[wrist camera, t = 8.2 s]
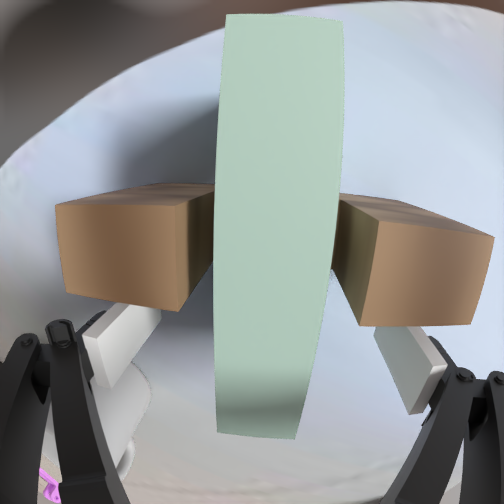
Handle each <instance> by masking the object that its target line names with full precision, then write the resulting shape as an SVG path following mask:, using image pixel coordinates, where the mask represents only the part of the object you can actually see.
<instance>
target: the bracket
mask: <svg viewBox="0 0 504 504" xmlns="http://www.w3.org/2000/svg"><path fill="white" fill-rule="evenodd" d="M39 475H40V476H41V477H42V478H44V479H45V480H46V481H47V482H48V485H47V486H46V488H45V489H44V491H43V494H44V496H45V497H46V498H47V499H49V500H52V501H53V502H55V503H60V502H61V500H60V496H59V491H58V484H59V483H58V482H56V481H55V480H54V479H53V478H52V477H51V476H49V475H48V474H47V473H46V472H45V471H44V470H43V469H41V468H40V469H39ZM49 493H50V494H49ZM48 494H49V495H48ZM55 498H56V499H55Z"/></svg>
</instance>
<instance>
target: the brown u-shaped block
mask: <svg viewBox="0 0 504 504" xmlns="http://www.w3.org/2000/svg"><path fill="white" fill-rule="evenodd" d="M214 201H215V184H191V183H156V184H150V185H144V186H139V187H133V188H128V189H123V190H118V191H113V192H108V193H103V194H99V195H94V196H90V197H85V198H81V199H77V200H72V201H68V202H64V203H60V204H56V205H55V212H56V225H57V235H58V244H59V252H60V259H61V266H62V272H63V278H64V283H65V289H66V292H67V293H72V294H76V295H81V296H86V297H91V298H96V299H102V300H107V301H113V302H118V303H124V304H130V305H136V306H142V307H149V308H155V309H162V310H169V311H176V312H179V310H180V309H181V307H182V306H183V304H184V303H185V301H186V300H187V298H188V297H189V296H190V294H191V293H192V291H193V290H194V288H195V287H196V285H197V284H198V282H199V281H200V279H201V278H202V276H203V275H204V274H205V272H206V271H207V269H208V268H209V266H210V265H211V263H212V262H213V249H214ZM494 238H495V237H493V236H491V235H489V234H486V233H484V232H482V231H479V230H477V229H474V228H472V227H470V226H467V225H465V224H462V223H460V222H457V221H455V220H452V219H449V218H447V217H444V216H441V215H439V214H436V213H433V212H430V211H428V210H425V209H422V208H419V207H416V206H413V205H410V204H407V203H404V202H401V201H398V200H392V199H384V198H377V197H369V196H361V195H353V194H344V193H339V202H338V212H337V222H336V230H335V239H334V247H333V254H332V262H331V269H333V271H334V273H335V275H336V277H337V279H338V281H339V283H340V285H341V287H342V290H343V292H344V294H345V296H346V298H347V300H348V302H349V305H350V307H351V309H352V311H353V313H354V316H355V318H356V320H357V322H358V325H359V326H377V327H409V326H448V325H468V324H471V322H472V319H473V316H474V313H475V310H476V307H477V304H478V301H479V298H480V295H481V291H482V288H483V285H484V281H485V277H486V274H487V270H488V266H489V262H490V257H491V253H492V248H493V243H494Z"/></svg>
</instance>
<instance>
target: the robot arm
mask: <svg viewBox="0 0 504 504" xmlns="http://www.w3.org/2000/svg"><path fill="white" fill-rule="evenodd" d="M161 319H162V315H161V309H155V308H149V307H142V306H136V305H130V304H124V303H118V302H117V303H115V304H114V305H113V306H112V307H111V308H110V309H109V310H108V311H102V312H100V313H98V314H96V315H95V316H93V317H92V318H91V319H90V321H88V322H87V323H86V325H84V326H82V327H81V328H80V329H79V330H78V331H77V332H76V333H75V332H74V328H73V324H72V322H71V321H69V320H65V319H59V320H55V321H53V322H51V323H49V324H48V325H47V326H46V328H45V331H46V334H47V337H48V340H49V343H50V344H40V342H39V339H38V337H37V335H35V334H31V333H29V334H24V335H21V336H20V337H18V338H17V339H16V340H15V342H14V344H13V346H12V347H11V349H10V351H9V353H8V355H7V357H6V359H5V361H4V363H3V365H2V363H1V362H0V504H37V493H38V479H39V469H40V460H41V453H42V446H43V440H44V434H45V428H46V423H47V418H48V413H49V408H50V404H51V405H52V417H53V426H54V434H55V441H56V448H57V454H58V460H59V465H60V470H61V475H62V483H59V484H58V491H59V496H60V500H61V503H62V504H130V502H129V499H128V497H127V495H126V493H125V490H124V488H123V485H122V483H121V481H120V478H119V475H118V473H117V470H116V468H115V465H114V462H113V459H112V456H111V454H110V451H109V448H108V445H107V441H106V438H105V435H104V432H103V428H102V425H101V421H100V418H99V414H98V410H97V406H96V402H95V398H94V394H93V389H92V385H91V383H90V380H91V379H92V377H93V376H94V377H95V380H96V382H97V385H99V386H102V387H105V388H108V389H112V388H113V386H114V385H115V384H116V382H117V381H118V379H119V378H120V376H121V375H122V374H123V372H124V371H125V369H126V368H127V366H128V365H129V364H130V362H131V361H132V359H133V358H134V357H135V355H136V354H137V352H138V351H139V350H140V348H141V347H142V345H143V344H144V343H145V341H146V340H147V339H148V337H149V336H150V334H151V333H152V332H153V330H154V329H155V328H156V326H157V325H158V324H159V322H160V321H161ZM374 338H375V340H376V342H377V344H378V347H379V349H380V351H381V353H382V355H383V357H384V359H385V362H386V364H387V366H388V368H389V370H390V373H391V375H392V377H393V379H394V382H395V384H396V386H397V388H398V391H399V393H400V395H401V398H402V400H403V402H404V405H405V407H406V410H407V412H408V415H411V414H418V413H423V412H424V410H425V408H426V406H427V405H428V403H429V405H430V407H431V411H430V412H429V414H428V416H427V417H426V419H425V420H424V422H423V424H422V425H421V426H423V427H422V429H421V431H420V434H419V436H418V438H417V440H416V442H415V444H414V446H413V448H412V450H411V452H410V454H409V455H408V457H407V459H406V461H405V463H404V465H403V466H402V468H401V470H400V472H399V473H398V475H397V477H396V478H395V480H394V482H393V483H392V485H391V487H390V488H389V490H388V491H387V493H386V494H385V496H384V497H383V499H382V500H381V502H380V503H379V504H439V503H440V501H441V498H442V496H443V494H444V492H445V489H446V487H447V484H448V482H449V479H450V477H451V474H452V471H453V469H454V466H455V463H456V460H457V457H458V454H459V451H460V448H461V444H462V441H463V438H464V454H463V473H462V484H461V493H460V501H459V504H504V373H503V372H499V371H493V372H491V373H490V374H489V376H488V378H487V379H486V380H482V379H476V377H475V375H474V374H473V373H472V372H471V371H470V370H468V369H466V368H462V367H457V366H456V364H455V363H454V362H453V360H452V359H451V358H450V356H449V355H448V353H446V351H445V349H444V348H443V347H442V345H441V344H440V343H439V341H437V340H436V339H435V338H433V337H432V336H427V335H426V334H425V332H424V331H423V330H422V328H421V327H420V326H409V327H377V326H376V328H375V332H374Z"/></svg>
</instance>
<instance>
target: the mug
mask: <svg viewBox="0 0 504 504" xmlns="http://www.w3.org/2000/svg"><path fill="white" fill-rule="evenodd" d="M90 383H91V385H92V389H93V394H94V398H95V402H96V406H97V410H98V414H99V418H100V421H101V425H102V428H103V432H104V435H105V438H106V441H107V445H108V448H109V451H110V454H111V456H112V459H113V462H114V465H115V468H116V470H117V473H118V475H119V478H120V481H122V480H123V479H124V478H125V476H126V475H127V473H128V472H129V470H130V468H131V466H132V463H133V460H134V457H135V451H136V445H135V441H134V439H133V437H132V436H133V434H134V432H135V430H136V428H137V426H138V424H139V423H140V421H141V419H142V417H143V415H144V414H145V412H146V410H147V408H148V406H149V404H150V402H151V396H152V393H151V388H150V385H149V383H148V381H147V379H146V377H145V376H144V375H143V373H142V372H141V371H140V370H139V368H138V367H137V366H136V365H135V364H134V363H132V362H130V364H129V365H128V366H127V368H126V369H125V371H124V372H123V374H122V375H121V376H120V378H119V379H118V381H117V382H116V384H115V385H114V386H113V388H112V389H108V388H105V387H102V386H99V385H97V382H96V380H95V377H94V376H93V377H92V379H91V380H90ZM42 454H43V455H44V456H45V457H46V458H47V459H49V460H50V461H51V462H52V463H54V464H55V465H56V466H57V467H59V468H60V465H59V460H58V454H57V448H56V441H55V434H54V426H53V417H52V405H51V404H50V408H49V413H48V418H47V423H46V428H45V434H44V440H43V446H42Z"/></svg>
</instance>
